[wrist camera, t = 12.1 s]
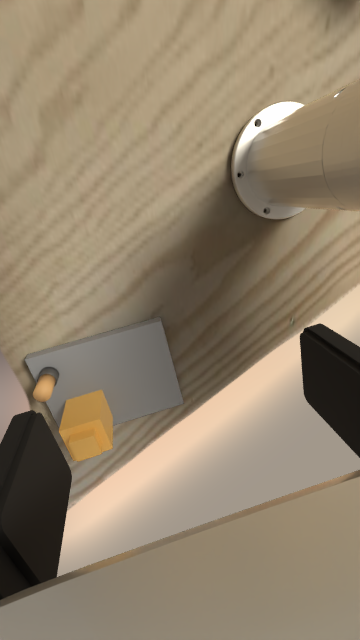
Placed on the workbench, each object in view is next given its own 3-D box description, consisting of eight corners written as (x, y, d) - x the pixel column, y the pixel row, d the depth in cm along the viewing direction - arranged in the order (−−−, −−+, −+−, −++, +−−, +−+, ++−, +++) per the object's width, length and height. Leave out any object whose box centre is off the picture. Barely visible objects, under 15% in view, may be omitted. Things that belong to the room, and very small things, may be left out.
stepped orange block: (102, 389, 43) (99, 426, 36) (112, 417, 45) (112, 457, 38) (66, 400, 42) (56, 439, 35) (78, 427, 44) (72, 470, 37)
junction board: (159, 316, 42) (166, 334, 37) (181, 397, 48) (190, 423, 42) (27, 354, 41) (14, 378, 35) (66, 433, 46) (60, 465, 41)
